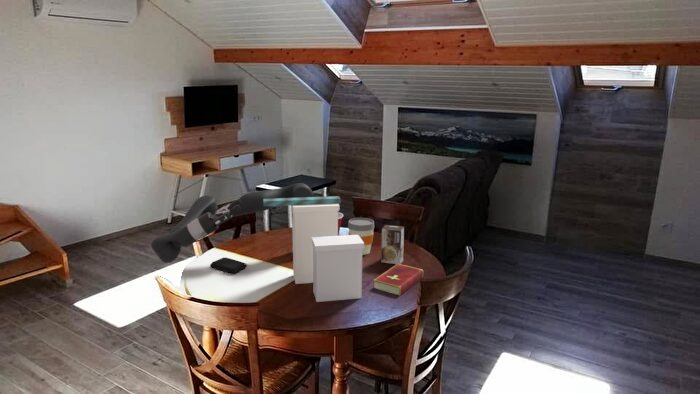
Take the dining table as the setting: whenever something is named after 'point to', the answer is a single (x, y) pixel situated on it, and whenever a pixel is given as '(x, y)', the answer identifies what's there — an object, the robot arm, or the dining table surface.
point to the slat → (302, 201)
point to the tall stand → (310, 235)
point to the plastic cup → (339, 221)
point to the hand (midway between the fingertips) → (239, 204)
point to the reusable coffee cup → (362, 231)
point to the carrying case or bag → (228, 265)
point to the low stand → (337, 267)
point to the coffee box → (392, 244)
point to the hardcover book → (398, 279)
